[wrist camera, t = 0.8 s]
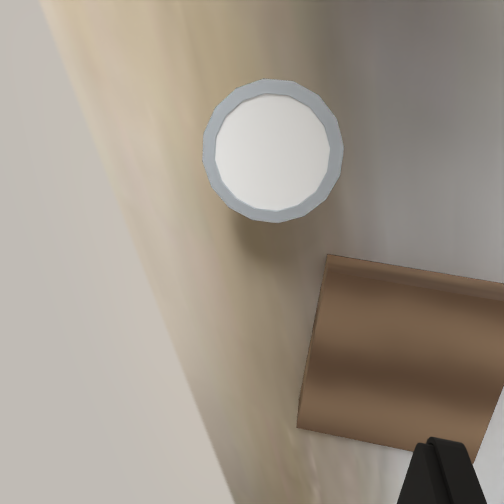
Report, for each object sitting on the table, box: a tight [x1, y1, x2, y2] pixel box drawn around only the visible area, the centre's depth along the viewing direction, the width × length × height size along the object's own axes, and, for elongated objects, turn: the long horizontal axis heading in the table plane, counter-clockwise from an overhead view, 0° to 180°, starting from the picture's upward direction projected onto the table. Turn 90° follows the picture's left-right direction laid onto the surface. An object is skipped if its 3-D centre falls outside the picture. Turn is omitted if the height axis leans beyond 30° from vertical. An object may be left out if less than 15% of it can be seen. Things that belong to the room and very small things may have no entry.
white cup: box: [202, 79, 344, 223], centre depth 25 cm, size 7×7×7 cm
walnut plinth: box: [297, 254, 504, 464], centre depth 31 cm, size 12×12×3 cm
